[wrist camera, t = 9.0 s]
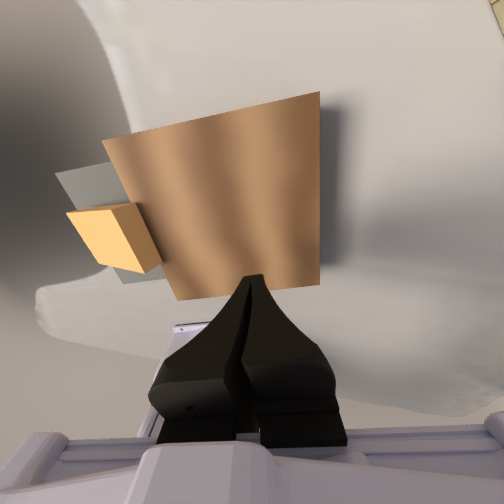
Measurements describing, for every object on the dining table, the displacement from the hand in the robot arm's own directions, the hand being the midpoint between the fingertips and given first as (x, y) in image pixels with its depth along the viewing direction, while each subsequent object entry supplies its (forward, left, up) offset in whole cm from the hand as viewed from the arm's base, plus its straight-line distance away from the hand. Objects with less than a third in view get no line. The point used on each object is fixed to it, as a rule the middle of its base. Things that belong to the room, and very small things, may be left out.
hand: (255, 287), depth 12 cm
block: (-14, +3, -8) cm, 16 cm away
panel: (-2, +3, -10) cm, 10 cm away
